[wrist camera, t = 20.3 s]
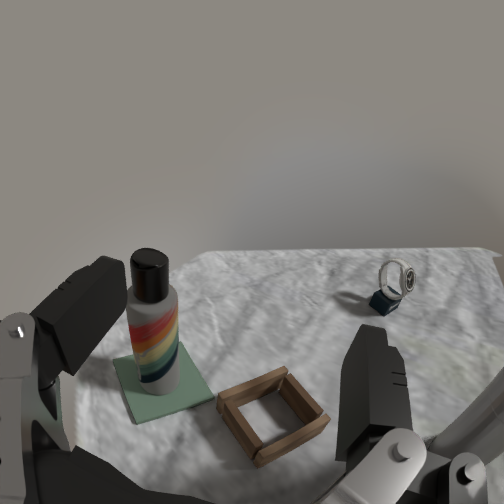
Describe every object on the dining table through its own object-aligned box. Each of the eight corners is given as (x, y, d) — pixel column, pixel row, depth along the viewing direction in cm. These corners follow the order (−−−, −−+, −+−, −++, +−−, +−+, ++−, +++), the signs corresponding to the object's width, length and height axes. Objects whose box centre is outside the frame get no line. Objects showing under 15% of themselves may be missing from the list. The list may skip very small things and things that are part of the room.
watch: (391, 322, 57) (413, 277, 51) (362, 299, 62) (380, 255, 57) (404, 312, 60) (425, 269, 54) (377, 292, 65) (394, 249, 60)
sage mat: (181, 343, 46) (181, 341, 46) (214, 399, 38) (214, 396, 38) (113, 362, 40) (112, 359, 40) (137, 424, 33) (136, 422, 32)
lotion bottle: (131, 374, 39) (110, 249, 28) (164, 357, 42) (159, 234, 32) (153, 403, 35) (136, 279, 25) (188, 383, 39) (190, 259, 29)
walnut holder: (278, 382, 42) (284, 365, 40) (321, 432, 35) (331, 418, 33) (216, 408, 37) (218, 393, 35) (257, 468, 30) (263, 457, 28)
